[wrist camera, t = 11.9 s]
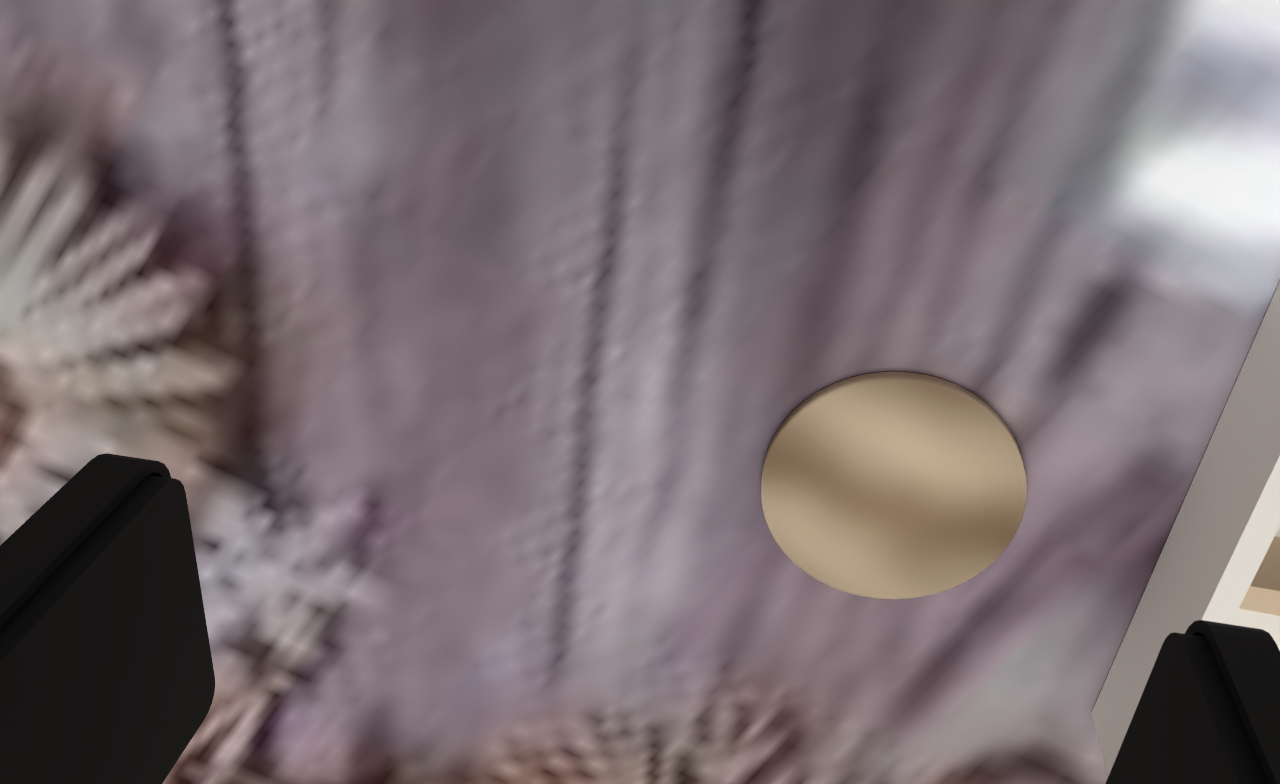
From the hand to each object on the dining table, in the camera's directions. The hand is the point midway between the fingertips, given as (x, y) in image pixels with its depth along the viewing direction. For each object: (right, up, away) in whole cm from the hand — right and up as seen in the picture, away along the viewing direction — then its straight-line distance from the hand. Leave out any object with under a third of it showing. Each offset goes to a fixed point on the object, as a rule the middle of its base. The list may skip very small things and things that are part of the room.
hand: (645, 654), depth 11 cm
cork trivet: (+10, -1, +33) cm, 35 cm away
